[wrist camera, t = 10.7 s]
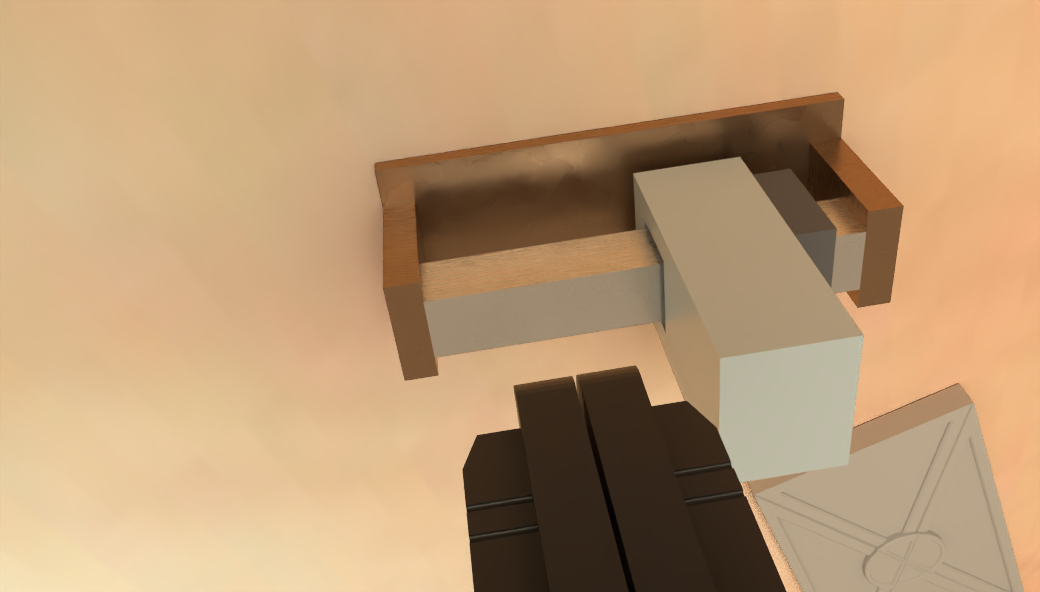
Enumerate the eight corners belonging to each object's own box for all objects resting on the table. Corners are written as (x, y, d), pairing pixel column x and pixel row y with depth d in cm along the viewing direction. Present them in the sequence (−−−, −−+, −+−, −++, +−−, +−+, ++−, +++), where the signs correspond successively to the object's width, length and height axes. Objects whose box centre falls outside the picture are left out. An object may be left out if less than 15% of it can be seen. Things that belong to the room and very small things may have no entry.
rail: (409, 318, 50) (412, 414, 43) (374, 163, 44) (373, 246, 38) (823, 252, 50) (885, 337, 44) (837, 92, 45) (909, 163, 39)
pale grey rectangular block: (638, 284, 47) (718, 486, 36) (632, 173, 44) (720, 358, 32) (737, 268, 47) (847, 464, 36) (740, 156, 44) (863, 334, 33)
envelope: (839, 658, 73) (1015, 591, 71) (851, 685, 71) (1032, 616, 69) (743, 471, 59) (957, 380, 57) (754, 498, 57) (976, 405, 55)
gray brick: (744, 274, 46) (782, 340, 42) (747, 175, 43) (788, 236, 39) (784, 267, 46) (827, 333, 42) (790, 168, 43) (836, 228, 39)
